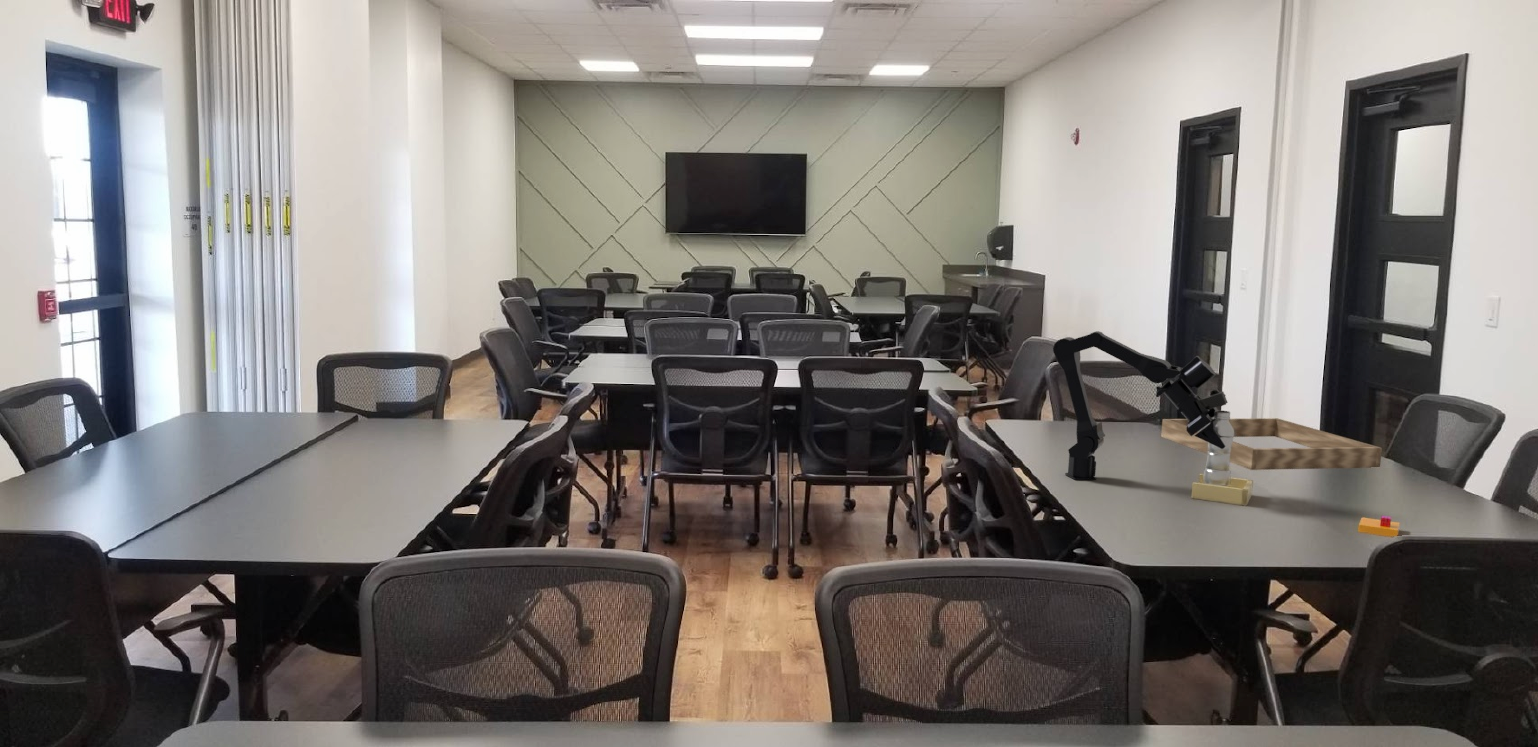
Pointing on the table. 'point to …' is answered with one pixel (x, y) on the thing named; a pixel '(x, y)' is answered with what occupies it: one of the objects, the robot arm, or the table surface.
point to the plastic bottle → (1220, 452)
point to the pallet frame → (1320, 455)
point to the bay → (1224, 491)
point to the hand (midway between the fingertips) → (1225, 445)
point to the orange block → (1379, 526)
